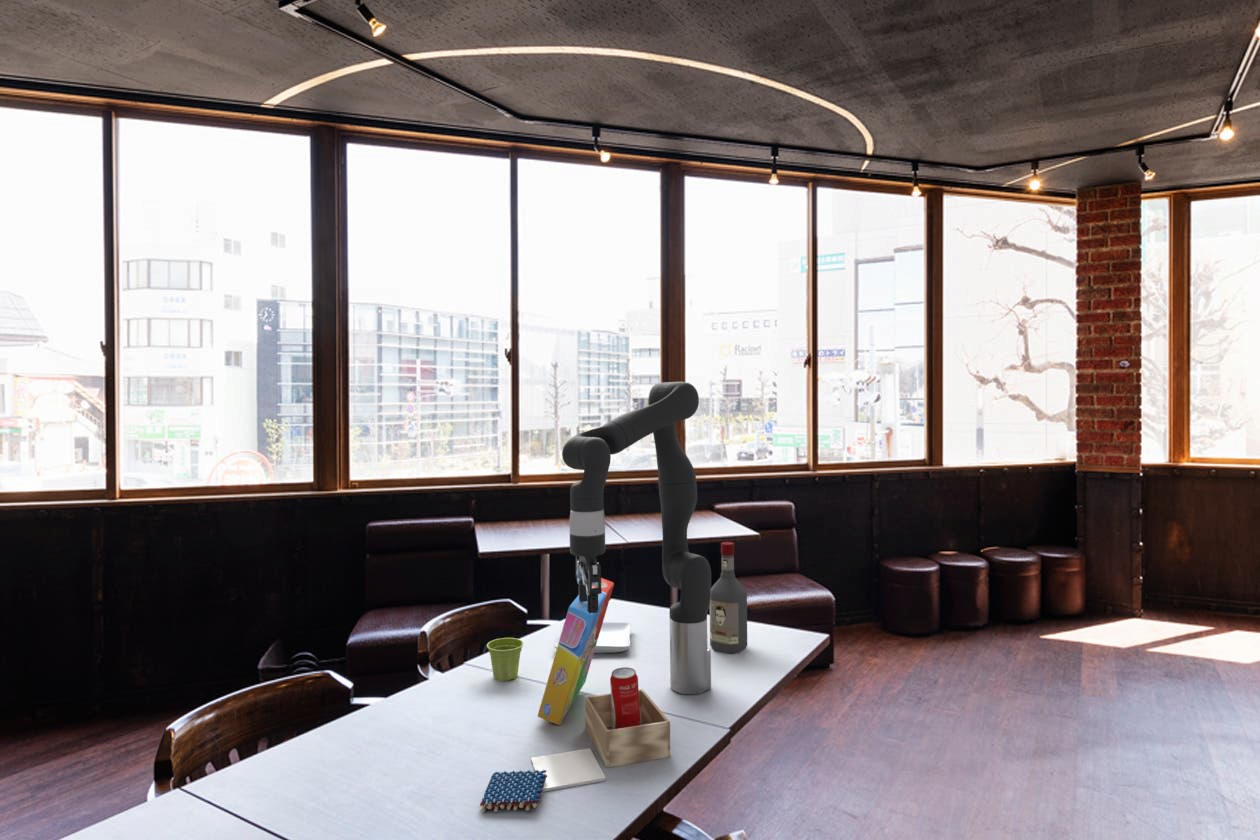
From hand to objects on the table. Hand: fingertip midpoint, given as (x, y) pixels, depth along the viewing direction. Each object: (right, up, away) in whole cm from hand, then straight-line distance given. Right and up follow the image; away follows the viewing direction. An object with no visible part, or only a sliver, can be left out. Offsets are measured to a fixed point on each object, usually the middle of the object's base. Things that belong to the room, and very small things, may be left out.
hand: (588, 606), depth 153 cm
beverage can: (+8, -28, -4) cm, 29 cm away
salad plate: (-2, -26, +57) cm, 63 cm away
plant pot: (-23, -27, +33) cm, 48 cm away
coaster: (-3, -28, -14) cm, 31 cm away
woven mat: (-12, -28, -23) cm, 38 cm away
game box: (-7, -25, +15) cm, 30 cm away
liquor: (+37, -25, +52) cm, 68 cm away
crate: (+8, -27, -4) cm, 29 cm away
